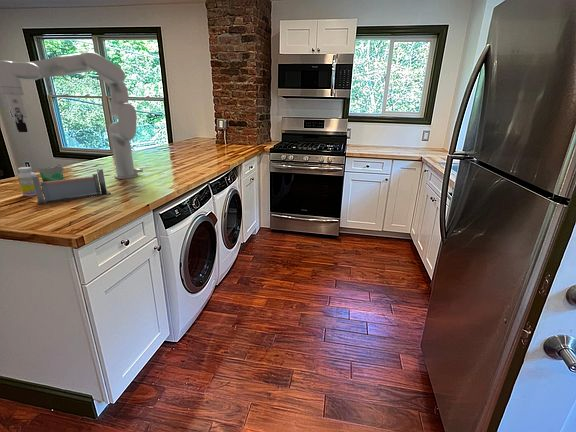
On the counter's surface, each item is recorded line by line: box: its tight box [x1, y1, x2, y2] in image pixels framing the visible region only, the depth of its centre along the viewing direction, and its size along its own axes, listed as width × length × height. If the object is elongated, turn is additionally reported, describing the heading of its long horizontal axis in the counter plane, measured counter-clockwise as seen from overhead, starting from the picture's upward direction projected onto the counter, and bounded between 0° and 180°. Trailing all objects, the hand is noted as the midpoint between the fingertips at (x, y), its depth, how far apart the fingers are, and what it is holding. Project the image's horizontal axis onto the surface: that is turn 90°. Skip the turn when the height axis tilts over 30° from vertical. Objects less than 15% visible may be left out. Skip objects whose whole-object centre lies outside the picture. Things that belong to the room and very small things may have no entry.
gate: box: [39, 173, 101, 201], centre depth 140 cm, size 22×2×9 cm, turn 134°
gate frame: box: [32, 168, 111, 206], centre depth 141 cm, size 28×6×12 cm, turn 134°
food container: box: [37, 163, 65, 182], centre depth 159 cm, size 12×6×10 cm, turn 168°
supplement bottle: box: [17, 166, 37, 197], centre depth 143 cm, size 7×7×13 cm
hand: (22, 131), depth 141 cm, fingers open, 9 cm apart
